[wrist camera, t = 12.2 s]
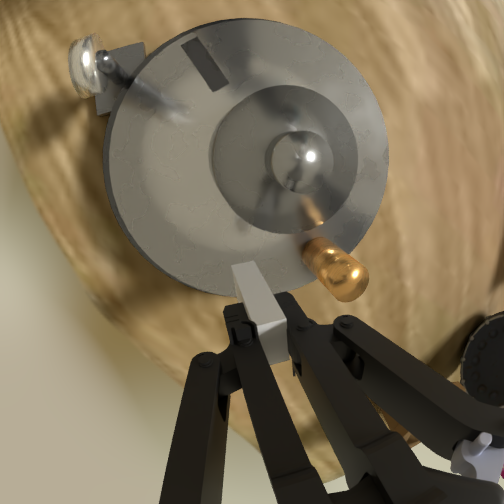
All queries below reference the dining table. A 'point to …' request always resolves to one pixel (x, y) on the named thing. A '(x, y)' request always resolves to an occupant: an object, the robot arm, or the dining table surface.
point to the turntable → (197, 164)
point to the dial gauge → (102, 69)
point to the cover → (284, 159)
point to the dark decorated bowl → (485, 362)
